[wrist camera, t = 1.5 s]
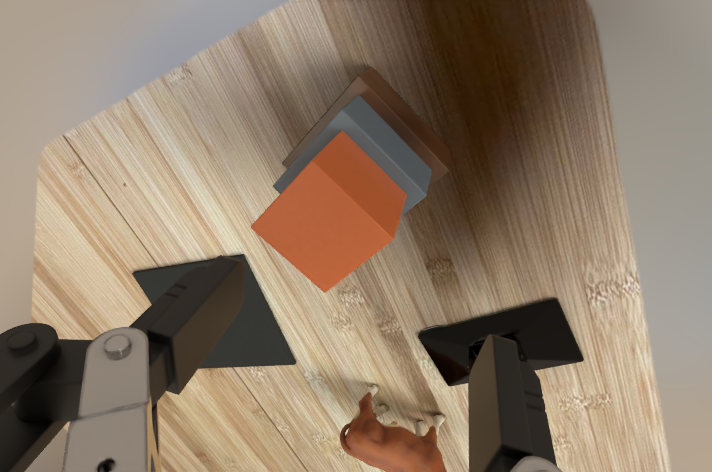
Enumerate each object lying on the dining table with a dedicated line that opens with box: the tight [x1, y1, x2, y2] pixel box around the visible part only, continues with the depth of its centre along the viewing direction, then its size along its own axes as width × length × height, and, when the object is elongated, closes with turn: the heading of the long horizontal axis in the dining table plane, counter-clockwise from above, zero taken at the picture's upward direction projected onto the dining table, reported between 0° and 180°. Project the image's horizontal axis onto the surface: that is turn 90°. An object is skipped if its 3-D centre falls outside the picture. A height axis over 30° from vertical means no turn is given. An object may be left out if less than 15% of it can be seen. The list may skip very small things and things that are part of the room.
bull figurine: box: [340, 385, 447, 472], centre depth 40 cm, size 4×13×8 cm, turn 65°
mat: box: [132, 255, 296, 369], centre depth 43 cm, size 14×14×1 cm
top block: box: [251, 130, 407, 292], centre depth 21 cm, size 5×5×5 cm
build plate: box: [418, 298, 584, 386], centre depth 34 cm, size 12×7×5 cm, turn 121°
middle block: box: [273, 95, 432, 217], centre depth 25 cm, size 6×6×4 cm
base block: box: [282, 67, 451, 188], centre depth 28 cm, size 8×8×4 cm
